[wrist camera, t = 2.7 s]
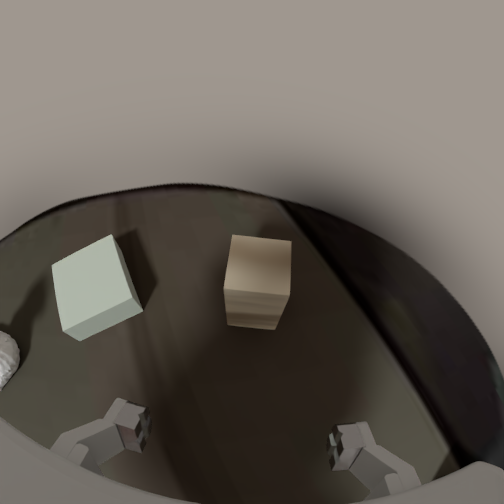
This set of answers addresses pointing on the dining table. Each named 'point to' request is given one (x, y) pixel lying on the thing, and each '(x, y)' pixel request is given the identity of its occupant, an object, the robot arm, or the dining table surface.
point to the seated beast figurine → (8, 358)
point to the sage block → (94, 289)
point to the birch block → (257, 281)
